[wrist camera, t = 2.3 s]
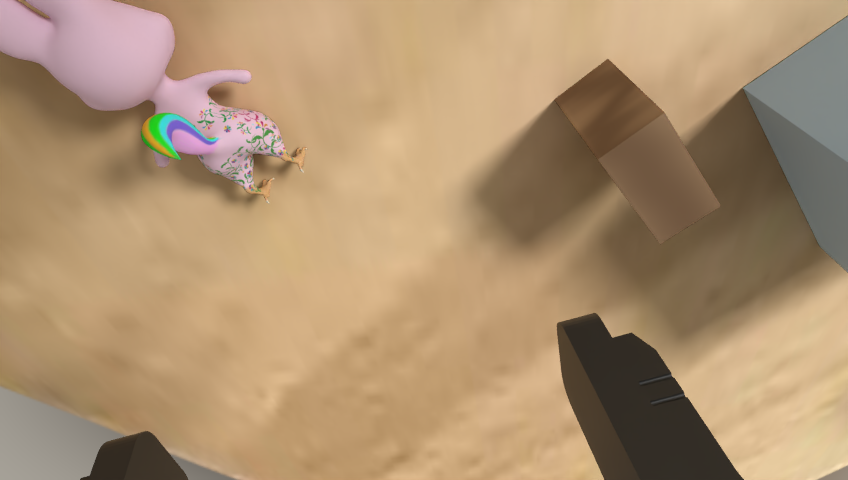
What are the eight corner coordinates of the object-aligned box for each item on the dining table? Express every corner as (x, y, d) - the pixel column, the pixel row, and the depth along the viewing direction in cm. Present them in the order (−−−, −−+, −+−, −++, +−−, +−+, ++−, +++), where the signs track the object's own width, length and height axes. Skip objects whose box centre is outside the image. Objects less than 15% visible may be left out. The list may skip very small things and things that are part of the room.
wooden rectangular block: (607, 58, 27) (664, 112, 22) (661, 142, 30) (721, 206, 25) (554, 99, 28) (597, 159, 23) (611, 177, 31) (660, 244, 26)
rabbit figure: (325, 110, 28) (-10, -162, 19) (340, 184, 24) (-82, -116, 15) (243, 187, 30) (-97, -23, 21) (244, 267, 26) (-180, 51, 17)
